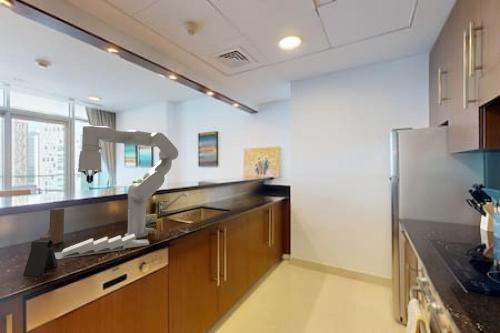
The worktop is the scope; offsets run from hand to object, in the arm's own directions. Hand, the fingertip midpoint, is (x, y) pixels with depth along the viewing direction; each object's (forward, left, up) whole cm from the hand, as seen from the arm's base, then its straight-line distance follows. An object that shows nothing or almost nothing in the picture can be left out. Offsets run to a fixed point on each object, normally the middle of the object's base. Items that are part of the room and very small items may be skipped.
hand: (89, 183), depth 128 cm
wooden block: (+16, -8, -32) cm, 37 cm away
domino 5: (-15, +16, -31) cm, 38 cm away
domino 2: (+3, +16, -31) cm, 35 cm away
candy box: (-32, -24, -32) cm, 52 cm away
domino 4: (-9, +16, -31) cm, 36 cm away
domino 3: (-3, +16, -31) cm, 35 cm away
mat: (-1, +16, -32) cm, 36 cm away
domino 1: (+9, +16, -31) cm, 36 cm away
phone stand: (+14, +32, -32) cm, 48 cm away
